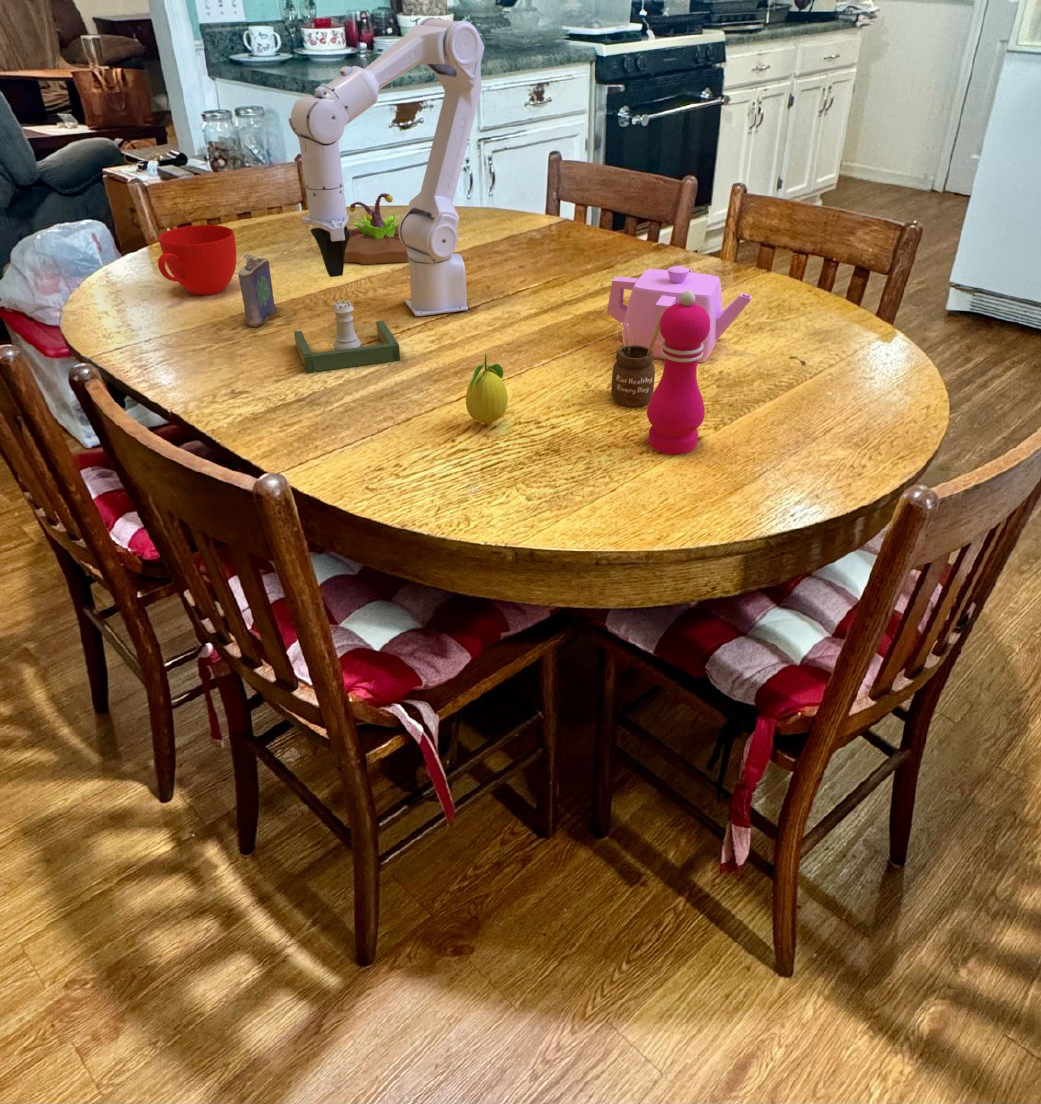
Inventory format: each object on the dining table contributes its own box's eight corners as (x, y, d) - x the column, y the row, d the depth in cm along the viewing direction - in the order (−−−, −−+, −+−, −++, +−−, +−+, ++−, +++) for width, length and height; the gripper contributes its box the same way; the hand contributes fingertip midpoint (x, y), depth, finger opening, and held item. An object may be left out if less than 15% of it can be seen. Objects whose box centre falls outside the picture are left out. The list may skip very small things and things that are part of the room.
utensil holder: (609, 389, 130) (614, 308, 123) (653, 390, 130) (660, 309, 123) (611, 407, 125) (616, 324, 118) (656, 407, 125) (664, 324, 118)
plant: (423, 264, 178) (419, 206, 172) (325, 264, 179) (318, 205, 172) (432, 236, 195) (429, 182, 188) (343, 236, 195) (336, 181, 189)
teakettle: (598, 336, 147) (602, 260, 140) (685, 320, 153) (693, 246, 146) (655, 374, 134) (663, 293, 127) (747, 355, 140) (759, 276, 133)
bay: (384, 334, 148) (383, 320, 146) (400, 360, 139) (399, 344, 138) (296, 346, 144) (293, 331, 142) (306, 373, 135) (304, 357, 134)
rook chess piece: (366, 348, 143) (361, 299, 138) (355, 359, 139) (349, 309, 135) (340, 346, 144) (334, 296, 139) (329, 356, 140) (322, 306, 136)
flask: (258, 327, 150) (247, 263, 144) (242, 327, 151) (230, 262, 145) (279, 309, 158) (268, 247, 152) (263, 308, 158) (252, 246, 152)
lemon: (471, 439, 117) (469, 367, 112) (456, 421, 122) (453, 351, 116) (518, 430, 119) (518, 359, 114) (501, 412, 124) (500, 343, 118)
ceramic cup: (140, 303, 160) (126, 246, 155) (201, 275, 173) (190, 221, 168) (199, 312, 156) (187, 254, 151) (257, 283, 169) (248, 228, 164)
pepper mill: (639, 431, 119) (651, 281, 108) (693, 429, 119) (710, 280, 108) (650, 458, 113) (664, 302, 102) (706, 455, 114) (727, 300, 102)
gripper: (290, 177, 140) (303, 264, 148) (305, 199, 129) (318, 292, 137) (335, 173, 142) (345, 259, 150) (354, 194, 131) (363, 286, 139)
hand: (335, 275), depth 144 cm, fingers closed
